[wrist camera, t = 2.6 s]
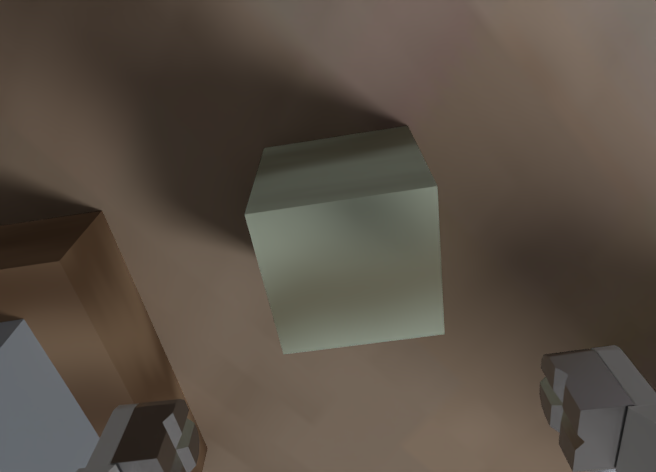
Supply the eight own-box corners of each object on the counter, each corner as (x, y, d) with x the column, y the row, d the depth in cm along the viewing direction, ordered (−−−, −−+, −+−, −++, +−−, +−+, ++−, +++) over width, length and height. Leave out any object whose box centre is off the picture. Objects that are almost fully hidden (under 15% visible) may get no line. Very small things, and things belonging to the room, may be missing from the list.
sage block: (264, 147, 17) (244, 214, 13) (407, 124, 17) (437, 186, 12) (292, 264, 19) (283, 354, 15) (416, 247, 19) (444, 334, 15)
